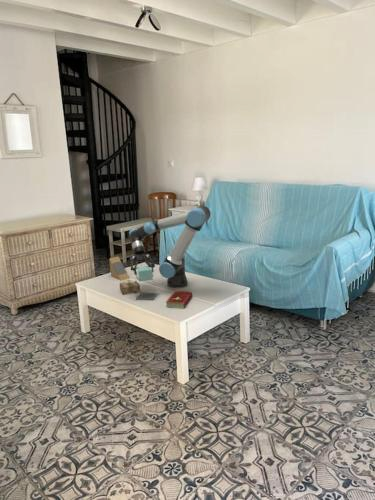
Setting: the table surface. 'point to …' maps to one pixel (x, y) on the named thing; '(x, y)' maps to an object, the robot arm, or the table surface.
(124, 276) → the sandwich container
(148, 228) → the robot arm
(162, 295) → the table surface
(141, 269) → the mint green cube
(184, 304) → the hardcover book
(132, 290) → the walnut box
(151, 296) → the mat
